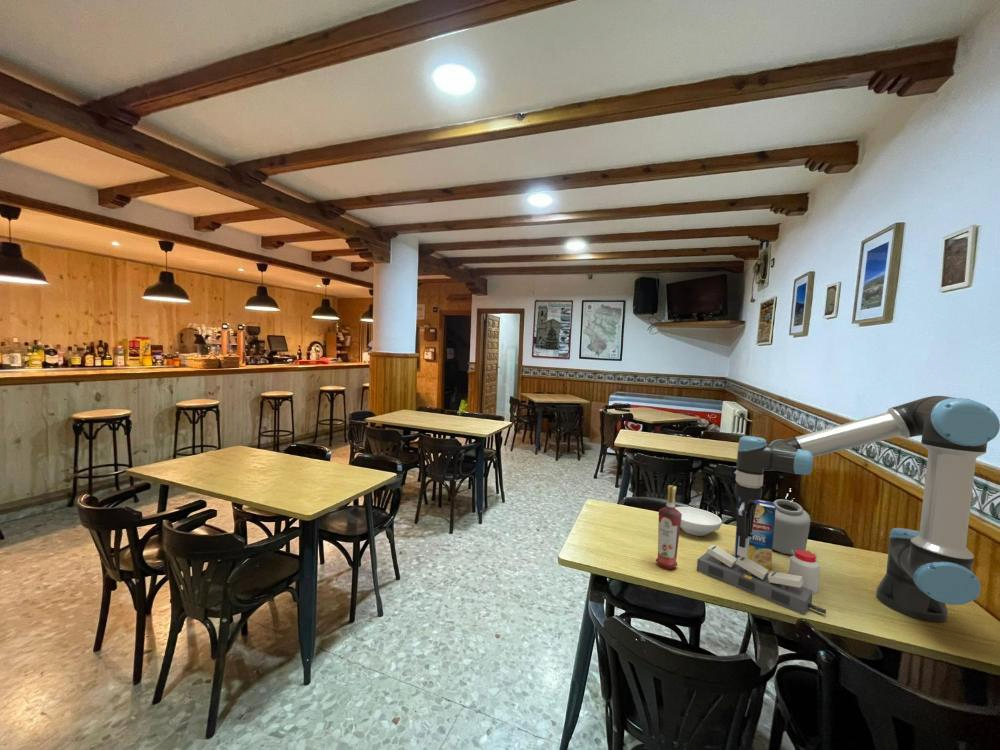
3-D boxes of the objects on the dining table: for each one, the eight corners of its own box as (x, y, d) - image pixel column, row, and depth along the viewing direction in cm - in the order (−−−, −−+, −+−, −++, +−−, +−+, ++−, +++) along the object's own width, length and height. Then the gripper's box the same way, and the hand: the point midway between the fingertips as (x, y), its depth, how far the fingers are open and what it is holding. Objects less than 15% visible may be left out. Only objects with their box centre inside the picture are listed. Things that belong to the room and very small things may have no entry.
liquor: (681, 566, 140) (686, 486, 139) (673, 573, 134) (679, 491, 133) (659, 558, 145) (665, 481, 143) (651, 565, 139) (657, 485, 138)
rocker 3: (803, 582, 121) (802, 576, 121) (800, 587, 118) (798, 580, 118) (773, 577, 127) (771, 571, 127) (768, 582, 124) (767, 575, 124)
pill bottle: (819, 596, 125) (822, 562, 125) (788, 587, 129) (791, 554, 129) (815, 585, 132) (818, 552, 131) (787, 577, 136) (789, 545, 135)
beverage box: (770, 570, 140) (776, 508, 139) (734, 561, 145) (739, 501, 144) (768, 562, 146) (773, 502, 145) (734, 553, 151) (738, 496, 150)
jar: (814, 566, 145) (820, 498, 144) (766, 556, 150) (772, 490, 149) (799, 544, 162) (804, 483, 161) (756, 536, 168) (761, 477, 167)
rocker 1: (735, 563, 135) (737, 558, 134) (730, 567, 132) (732, 562, 131) (711, 548, 140) (713, 544, 140) (706, 552, 137) (708, 547, 137)
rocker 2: (766, 575, 128) (768, 570, 127) (762, 579, 125) (764, 574, 125) (740, 559, 134) (742, 554, 133) (735, 563, 131) (737, 558, 130)
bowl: (730, 543, 160) (731, 526, 159) (680, 541, 160) (682, 523, 160) (705, 523, 179) (706, 507, 179) (661, 521, 179) (662, 505, 179)
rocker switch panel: (828, 610, 118) (829, 593, 118) (822, 622, 112) (823, 605, 112) (707, 562, 143) (708, 548, 143) (696, 570, 137) (697, 556, 137)
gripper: (742, 478, 137) (736, 545, 138) (728, 484, 128) (722, 557, 129) (767, 484, 132) (761, 554, 133) (755, 491, 123) (748, 566, 124)
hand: (742, 555), depth 131 cm, fingers closed
